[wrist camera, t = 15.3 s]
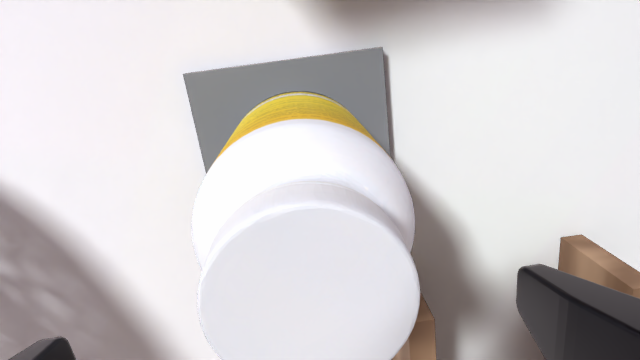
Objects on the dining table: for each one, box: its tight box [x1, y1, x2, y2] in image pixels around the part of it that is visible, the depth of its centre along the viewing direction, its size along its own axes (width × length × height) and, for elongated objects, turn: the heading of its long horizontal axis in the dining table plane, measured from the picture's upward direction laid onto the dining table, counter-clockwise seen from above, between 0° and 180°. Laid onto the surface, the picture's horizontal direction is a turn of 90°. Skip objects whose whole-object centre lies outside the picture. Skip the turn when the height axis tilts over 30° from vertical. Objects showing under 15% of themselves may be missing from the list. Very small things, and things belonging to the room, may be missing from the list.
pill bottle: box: [192, 91, 420, 360], centre depth 14 cm, size 6×6×12 cm
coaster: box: [183, 47, 390, 174], centre depth 19 cm, size 9×9×1 cm
